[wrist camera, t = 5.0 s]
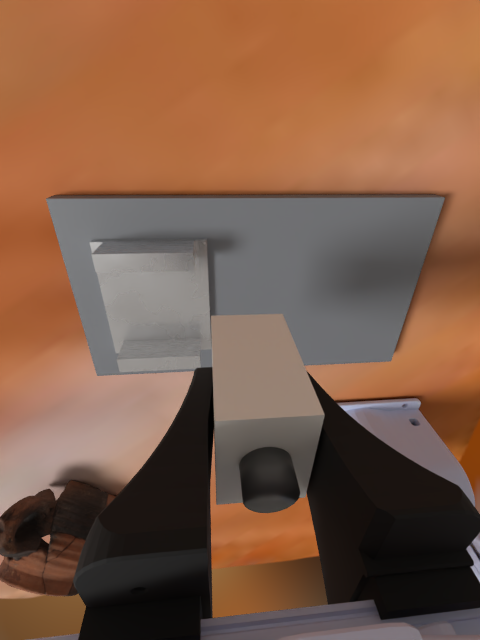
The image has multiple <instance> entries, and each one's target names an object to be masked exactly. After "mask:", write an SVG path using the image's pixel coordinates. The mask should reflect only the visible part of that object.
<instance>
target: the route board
mask: <svg viewBox="0 0 480 640" xmlns="http://www.w3.org/2000/svg"><path fill="white" fill-rule="evenodd" d="M444 199H445V197H442V196H438V195H435V194H392V195H54V196H51V197H49V198H47V199H46V200H47V204H48V207H49V211H50V214H51V218H52V221H53V225H54V228H55V232H56V235H57V238H58V242H59V245H60V249H61V252H62V256H63V259H64V263H65V266H66V270H67V273H68V276H69V280H70V283H71V287H72V290H73V294H74V297H75V301H76V304H77V308H78V311H79V315H80V318H81V321H82V325H83V328H84V332H85V335H86V339H87V342H88V346H89V349H90V353H91V356H92V359H93V363H94V366H95V370H96V373H97V376H103V375H124V374H144V373H164V372H184V371H195V369H179V370H159V371H138V372H119V368H118V363H117V357H118V355H119V353H116V352H115V347H114V343H113V339H112V335H111V331H110V326H109V322H108V318H107V314H106V310H105V305H104V301H103V297H102V293H101V289H100V284H99V280H98V276H97V273H96V272H95V267H94V263H93V259H92V255H91V254H92V251H91V247H90V241H91V240H137V239H207V256H208V280H209V304H210V328H211V316H218V315H257V314H283V316H284V319H285V321H286V323H287V326H288V328H289V331H290V333H291V335H292V338H293V340H294V342H295V345H296V347H297V350H298V352H299V354H300V357H301V359H302V362H303V364H304V366H305V365H325V364H345V363H366V362H386V361H391V360H392V357H393V354H394V351H395V348H396V345H397V342H398V339H399V336H400V333H401V329H402V326H403V323H404V320H405V317H406V314H407V311H408V308H409V305H410V302H411V299H412V296H413V293H414V290H415V287H416V284H417V281H418V278H419V275H420V272H421V269H422V266H423V263H424V260H425V257H426V254H427V251H428V248H429V245H430V242H431V239H432V236H433V233H434V230H435V227H436V224H437V221H438V218H439V215H440V212H441V208H442V205H443V202H444ZM202 367H212V332H211V349H205V350H201V368H202Z"/></svg>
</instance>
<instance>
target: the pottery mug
mask: <svg viewBox="0 0 480 640" xmlns="http://www.w3.org/2000/svg"><path fill="white" fill-rule="evenodd" d="M115 497H116V496H114V495H110V494H107V493H106V492H102V491H101V490H100V489H98V488H95V487H93V486H89V485H86V484H83V483H80V482H76V481H73V480H71V481H69V483H68V484H67V486H66V488H65V490H64V491H63V492H62V493H61V495H60V497H59V498H58V499H57V500H55V496H54V493H53V492H52V491H51V489H46V490H43V491H41V492H39V493H37V494H36V495H35V496H28V497H26V498H24V499H22V500H20V501H18V502H17V503H15V504H14V505H13V506H11V507H10V508H9V509H8V510H6V511H5V512H4V513H3V514H2V516H1V517H0V554H1V555H2V556H4V560H3V562H2V564H1V565H0V580H1V581H2V582H5V583H6V584H7V585H9V586H11V587H15V588H17V589H20V590H23V591H27V592H31V593H35V594H40V595H43V594H45V595H48V596H73V595H76V594H78V592H77V590H76V588H75V587H74V583H73V579H74V575H75V572H76V568H77V565H78V561H79V558H80V554H81V551H82V548H83V546H84V543H85V541H86V538H87V536H88V534H89V531H90V529H91V527H92V525H93V523H94V521H95V519H96V517H97V516H98V515H99V514H100V513H101V512H102V511H103V510H104V509H105V508H106V507H107V506H108V505H109V503H110V502H111V501H112V500H113V499H114V498H115ZM49 534H50V535H51V536H50V537H51V538H50V544H48V543H47V542H45V541H44V540H43V539H42V537H44V536H46V535H49Z"/></svg>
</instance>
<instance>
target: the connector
mask: <svg viewBox="0 0 480 640" xmlns="http://www.w3.org/2000/svg"><path fill="white" fill-rule="evenodd" d="M211 332H212V370H213V407H214V439H215V471H216V503H217V505H218V504H231V503H243V504H244V506H245V507H246V508H248V509H249V510H252V511H254V512H259V513H271V512H277V511H281V510H283V509H286V508H288V507H290V506H291V505H293V504H294V503H295V502H296V501H297V500H298V498H303V497H305V496H306V492H307V488H308V484H309V479H310V475H311V471H312V467H313V463H314V458H315V454H316V450H317V446H318V441H319V437H320V433H321V429H322V425H323V420H324V416H325V414H324V412H323V409H322V407H321V405H320V402H319V400H318V397H317V395H316V393H315V390H314V388H313V385H312V383H311V381H310V378H309V376H308V374H307V371H306V369H305V366H304V364H303V362H302V359H301V357H300V354H299V352H298V350H297V347H296V345H295V342H294V340H293V338H292V335H291V333H290V331H289V328H288V326H287V323H286V321H285V319H284V316H283V314H257V315H218V316H211Z"/></svg>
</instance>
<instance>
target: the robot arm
mask: <svg viewBox="0 0 480 640" xmlns="http://www.w3.org/2000/svg"><path fill="white" fill-rule="evenodd" d="M307 374H308V376H309V378H310V381H311V383H312V385H313V388H314V390H315V393H316V395H317V397H318V400H319V402H320V405H321V407H322V409H323V412H324V414H325V416H324V420H323V425H322V429H321V433H320V437H319V441H318V446H317V450H316V454H315V458H314V463H313V467H312V471H311V475H310V479H309V484H308V488H307V497H308V501H309V506H310V510H311V515H312V520H313V525H314V530H315V535H316V540H317V545H318V550H319V556H320V561H321V566H322V572H323V578H324V584H325V589H326V595H327V601H328V605H321V606H313V607H304V608H296V609H287V610H278V611H270V612H261V613H253V614H244V615H235V616H227V617H218V618H212V570H211V516H210V478H211V463H212V449H213V434H214V407H213V370H212V367H202V368H196V369H195V371H194V376H193V379H192V382H191V385H190V387H189V390H188V393H187V395H186V397H185V399H184V401H183V404H182V406H181V408H180V410H179V412H178V413H177V415H176V417H175V419H174V421H173V423H172V424H171V426H170V428H169V430H168V431H167V433H166V434H165V436H164V437H163V439H162V441H161V442H160V444H159V445H158V446H157V448H156V449H155V451H154V452H153V453H152V455H151V456H150V458H149V459H148V460H147V461H146V463H145V464H144V465H143V467H142V468H141V469H140V470H139V471H138V473H137V474H136V475H135V476H134V477H133V478H132V480H131V481H130V482H129V483H128V484H127V485H126V487H125V488H124V489H123V490H122V491H121V492H120V493H119V494H118V495H117V496H116V497H115V498H114V499H113V500H112V501H111V502H110V503H109V505H108V506H107V507H106V508H105V509H104V510H103V511H102V512H101V513H100V514H99V515H98V516H97V517H96V519H95V521H94V523H93V525H92V527H91V529H90V531H89V534H88V536H87V538H86V541H85V543H84V546H83V548H82V551H81V554H80V558H79V561H78V565H77V568H76V572H75V575H74V579H73V583H74V587H75V588H76V590H77V592H78V593H79V595H80V597H81V598H82V600H83V602H84V604H85V605H86V610H85V614H84V618H83V622H82V626H81V630H80V634H71V635H63V636H54V637H46V638H37V639H28V640H480V514H479V513H478V511H477V510H476V508H475V500H474V494H473V491H472V488H471V485H470V482H469V479H468V477H467V475H466V473H465V472H464V470H463V468H462V466H461V465H460V464H459V462H458V461H457V459H456V458H455V457H454V455H453V454H452V453H451V452H450V450H449V449H448V448H447V446H446V445H445V444H444V442H443V441H442V440H441V438H440V437H439V436H438V434H437V433H436V432H435V430H434V429H433V428H432V426H431V425H430V424H429V423H428V421H427V420H426V419H425V417H424V416H423V415H422V413H421V412H420V411H419V410H418V409H419V407H420V405H421V402H420V401H419V399H417V398H410V399H394V400H377V401H360V402H344V403H336V402H335V401H334V400H333V399H332V398H331V397H330V396H329V395H328V394H327V393H326V392H325V391H324V390H323V388H322V387H321V386H320V385H319V384H318V383H317V382H316V381H315V380H314V379H313V377H312V376H311V375H310V374H309V373H308V372H307ZM471 543H472V544H471ZM473 546H474V547H473ZM475 549H476V550H475ZM477 552H478V553H477Z"/></svg>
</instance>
